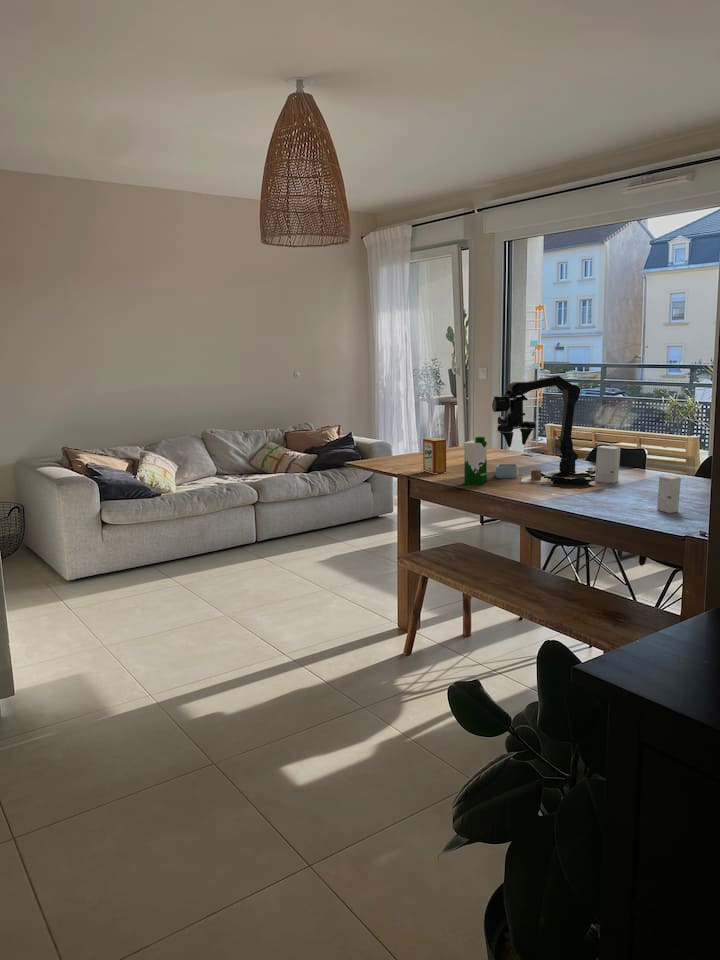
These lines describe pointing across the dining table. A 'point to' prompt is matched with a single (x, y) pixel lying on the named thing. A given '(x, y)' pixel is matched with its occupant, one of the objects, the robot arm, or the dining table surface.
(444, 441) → the baking soda box
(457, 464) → the dining table surface
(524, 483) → the mat
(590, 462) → the dining table surface
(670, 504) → the skincare box
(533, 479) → the lid
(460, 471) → the dining table surface
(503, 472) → the light blue storage bin
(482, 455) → the milk carton
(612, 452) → the skincare box
